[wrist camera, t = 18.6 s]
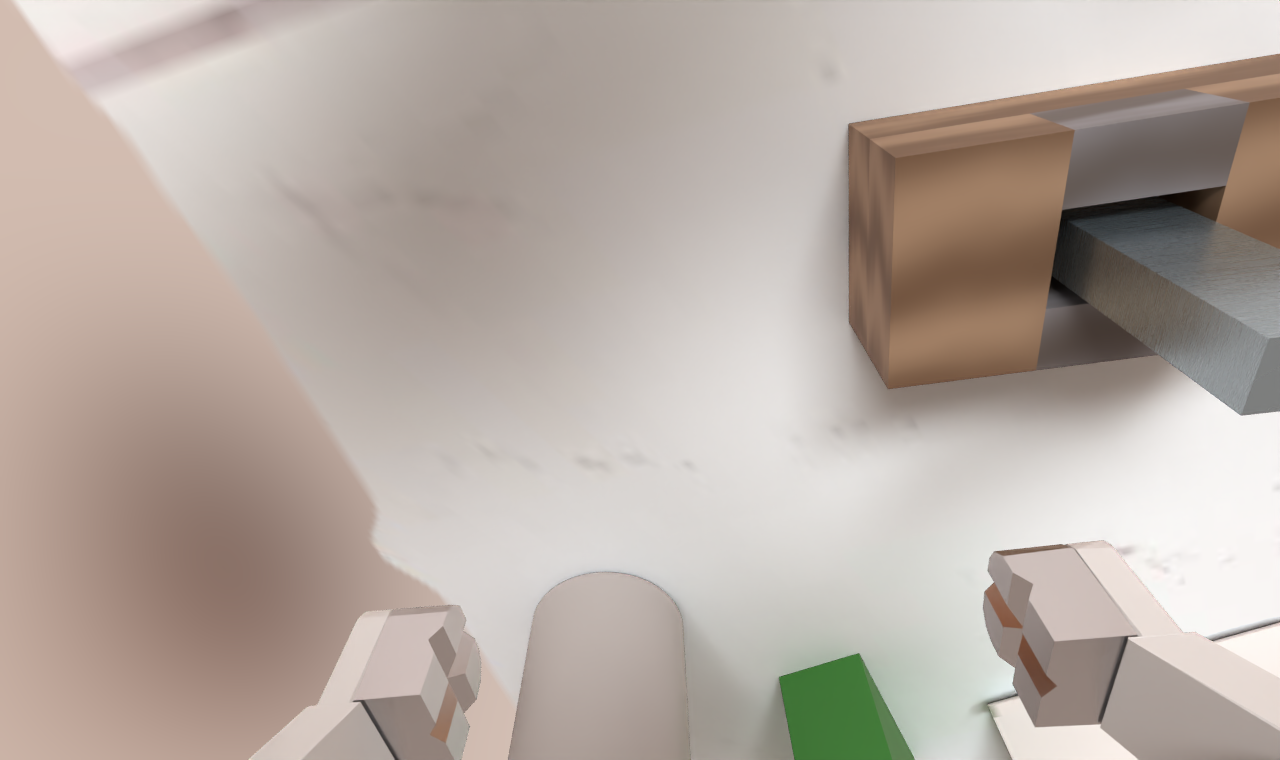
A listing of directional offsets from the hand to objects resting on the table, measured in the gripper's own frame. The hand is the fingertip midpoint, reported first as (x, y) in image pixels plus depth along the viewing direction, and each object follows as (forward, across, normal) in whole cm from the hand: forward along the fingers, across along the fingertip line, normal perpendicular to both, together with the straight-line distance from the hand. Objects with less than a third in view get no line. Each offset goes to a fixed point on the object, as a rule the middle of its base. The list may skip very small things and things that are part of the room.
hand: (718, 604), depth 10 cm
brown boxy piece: (+31, +20, -6) cm, 38 cm away
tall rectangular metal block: (+27, +20, -6) cm, 35 cm away
